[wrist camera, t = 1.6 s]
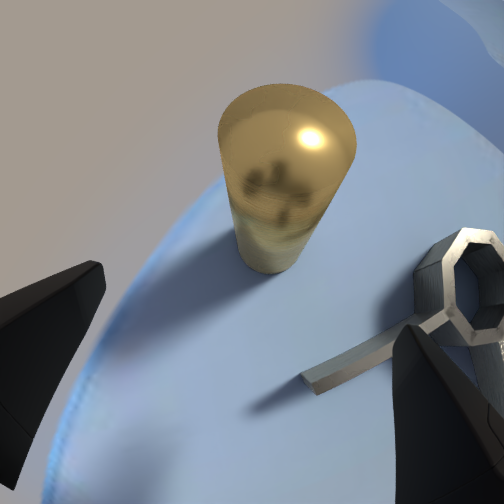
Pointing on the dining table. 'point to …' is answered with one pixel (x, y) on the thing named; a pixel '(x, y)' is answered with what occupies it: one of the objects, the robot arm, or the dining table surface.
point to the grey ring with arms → (441, 317)
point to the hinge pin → (282, 169)
